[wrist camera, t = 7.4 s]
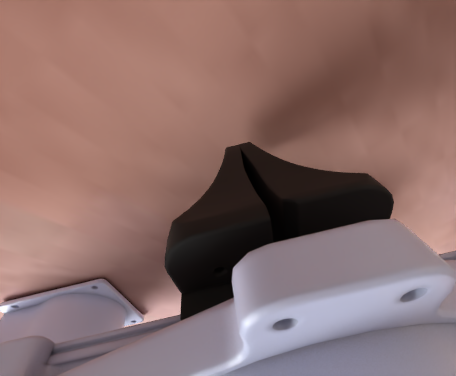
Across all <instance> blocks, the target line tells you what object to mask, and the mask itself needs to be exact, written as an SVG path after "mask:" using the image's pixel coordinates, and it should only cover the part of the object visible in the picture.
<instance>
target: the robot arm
mask: <svg viewBox="0 0 456 376" xmlns="http://www.w3.org/2000/svg"><path fill="white" fill-rule="evenodd" d="M393 204H394V201H393V197H392V194H391V193H390V192H389V191H388V190H387V189H386V188H385V187H384V186H382V185H381V184H380V183H379V182H378V181H376V180H375V179H374V178H373V177H371V176H370V175H369V174H366V173H343V172H333V171H324V170H318V169H313V168H308V167H303V166H300V165H296V164H293V163H290V162H287V161H284V160H282V159H279V158H277V157H275V156H273V155H271V154H269V153H267V152H265V151H263V150H262V149H260V148H258V147H257V146H255V145H254V144H252V143H250V142H247V143H243V144H239V145H235V146H231V147H227V148H226V149H225V155H224V159H223V162H222V165H221V168H220V170H219V172H218V174H217V176H216V178H215V180H214V182H213V183H212V185H211V186H210V188H209V189H208V190H207V191H206V193H205V194H204V195H203V196H202V197H201V198H200V199H199V200H198V201H197V202H196V203H195V204H194V205H193V206H192V207H191V208H190V209H188V210H187V211H186V212H184V213H183V214H182V215H180V216H179V217H178V218H176V219H175V220H174V221H173V222H172V225H171V229H170V232H169V236H168V240H167V246H166V254H165V268H166V271H167V273H168V274H169V276H170V277H171V279H172V280H173V282H174V283H175V285H176V286H177V287H178V289H179V290H180V292H181V293H182V297H181V315H177V316H172V317H168V318H164V319H160V320H155V321H151V322H147V323H142V324H138V325H134V326H129V327H125V328H124V326H127V325H131V324H135V323H139V322H142V321H143V320H144V316H143V315H142V314H141V313H140V312H139V311H138V310H137V309H136V308H135V307H134V306H133V305H132V304H131V303H130V302H129V301H128V300H127V299H126V298H124V297H123V296H122V295H121V294H120V293H119V292H118V291H117V290H116V289H115V288H114V287H113V286H112V285H111V284H110V283H109V282H108V281H107V280H105V279H97V280H93V281H89V282H84V283H80V284H76V285H72V286H68V287H64V288H60V289H55V290H51V291H47V292H43V293H39V294H35V295H31V296H26V297H22V298H18V299H14V300H10V301H6V302H2V303H0V311H1V312H3V313H4V315H3V317H2V318H1V320H0V376H456V251H452V252H448V253H444V254H439V255H438V254H437V253H435V252H434V251H433V250H432V249H431V248H430V247H429V246H428V245H427V244H426V243H425V242H423V241H422V240H421V239H420V238H419V237H418V236H417V235H416V234H415V233H414V232H412V231H411V230H410V229H409V228H408V227H407V226H405V225H404V224H402V223H401V222H399V221H397V220H396V219H390V216H391V213H392V210H393Z"/></svg>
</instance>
